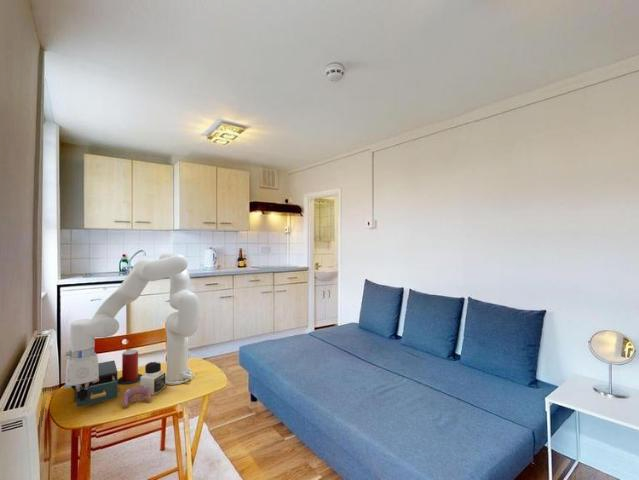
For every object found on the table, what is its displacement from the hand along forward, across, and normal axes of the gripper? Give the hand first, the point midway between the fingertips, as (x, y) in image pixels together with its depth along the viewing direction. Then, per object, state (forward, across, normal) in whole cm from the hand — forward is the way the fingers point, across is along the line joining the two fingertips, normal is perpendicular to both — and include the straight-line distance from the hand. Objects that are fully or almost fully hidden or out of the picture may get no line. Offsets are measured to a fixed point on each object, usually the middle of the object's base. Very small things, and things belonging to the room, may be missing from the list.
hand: (82, 399), depth 123 cm
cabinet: (+4, +5, +18) cm, 19 cm away
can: (+4, +18, +20) cm, 27 cm away
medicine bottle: (+4, +25, +2) cm, 25 cm away
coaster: (+4, +18, +19) cm, 27 cm away
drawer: (+3, +5, +7) cm, 9 cm away
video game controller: (+4, +18, -5) cm, 19 cm away
